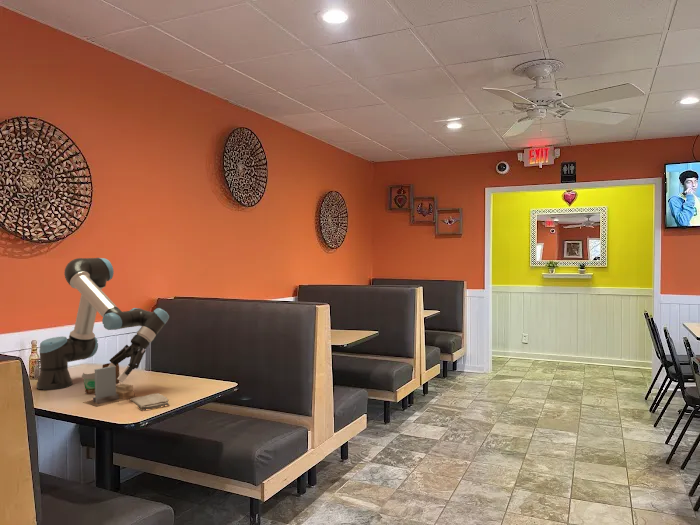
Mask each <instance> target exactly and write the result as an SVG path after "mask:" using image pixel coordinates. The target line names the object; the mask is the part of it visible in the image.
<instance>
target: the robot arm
mask: <svg viewBox="0 0 700 525" xmlns="http://www.w3.org/2000/svg"><path fill="white" fill-rule="evenodd" d="M63 273H64V279H65V281H66V282H67V283H68V284H67V285H69V286H70V287H71V288H72V289H76V290H77V291H78V293H79V294H80V298H79V304H78V309H77V313H76V319H75V323H74V329H73V330H71V331H70V332H69V336H68V338H67V336H55V337H50V338H46V339H44V340H42V341H41V342H40V344H39V350H38V352H39V364H40V365H39V367H40V369H39V370H40V372H39V375H38V378H37V382H36V389H37V388H38V389H37V390H39V389H43V390H42V391H48V390H57V389H58V390H59V389H65V388H68V387H70V386H72V385H73V379H72V378H71V374H70V371H69V367H68V366H69V365H68V363H70V362H75V361H80V360H81V361H82V360H87V359H89V358H92V357H95V355H96V353H97V351H98V348H99V343H98V339H97V337H96V335H95V333H94V328H95V327H94V326H95V322H96V316H97V313H99V315H100V316H101V317H102V320H101V321H102V324H103V328H104V329H105V330H108V331H113V330H114V331H116V330H117V331H118V330H122V329H127V328H128V329H129V328H135V327H140V328H139V329H138V330H137V332H136V334H135V335H133V337H132V338H131V339H130V343H131V344H130V345H128V344H126V345H124V347H123V348H122V349H120V350H119V351H118V352H117V353H116V354H115V355H114V356H112V357H111V358H110V359H109V363H110V365H109V366H108V367H111V366H115V367H116V366H117V364H118V363H119V364H120V363H121V362H123V361H124V360H125V359H127V358H130V360H129V363H128V365H126V367H125V368H124V369H123V371H122V372H121V373H120V374H119V377H118V378H117V379H118V380H119V382H121V384H124V381H125V380H126V379H127V378H128V376H129V375H130V374H131V372H132V371H133V370H135V369H138V368H139V366H140V365H141V362H142V359H143V357H144V354H145V353H146V351H147V348H148V347H149V345H150V344H151V343H152V342H153V341H154V340H155V338H156V336H158V334H159V333H160V331H161V330H162V329H163V327H165V325H166V324H167V323H168V321H169V319H170V315H169V313H168V312H167V311H165V309H162V308H161V307H157V308H155V309H154V310H153V311H150V310H146V309H143V308H139V307H138V308H137V307H133V308H130V309H129V310H126V311H122V310H121V309H120V308H119V307H118V306H117V305H116V304H115V303H114V302H113V301H112V299H110V298H109V296H107V294H106V293H105V292H104V291H103V290H102V289H104V288H105V287H106V286H107V282H109V281H111V280H112V279H113V277H114V267H113V265H112V263H111V261H110V260H109V259H107V258H106V257H105V258H104V257H85V258H84V257H83V258H82V257H79V258H78V257H77V258H74V259H72V260H70V261H69V262H68V263H67V264H66V266H65V268H64V272H63ZM67 386H68V387H67Z"/></svg>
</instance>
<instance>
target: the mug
mask: <svg viewBox="0 0 700 525" xmlns="http://www.w3.org/2000/svg"><path fill="white" fill-rule="evenodd" d="M110 363H111V362H108V363H103V364H102V367H101V368H105V367H108V366H109V365H110ZM115 368H116V384H118V383H120V381H119V380H118V379H117V378H118V377H119V376H120V363H118V364H117V366H116V367H115Z"/></svg>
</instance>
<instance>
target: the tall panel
mask: <svg viewBox="0 0 700 525" xmlns="http://www.w3.org/2000/svg"><path fill="white" fill-rule="evenodd" d="M94 373H95V394H94V397H95V402H96V403H97V399H99V398H103V397H107V396H112V395H116V385H117V383H116V368H115V366H111V367H105V368H102V367H100V368H95V369H94Z"/></svg>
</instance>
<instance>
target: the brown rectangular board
mask: <svg viewBox="0 0 700 525" xmlns="http://www.w3.org/2000/svg"><path fill="white" fill-rule="evenodd" d="M135 397H137V396H135V395H134V397H131V398H135ZM131 398H126V399H121V398H119V394H116V395H112V396H107V397H103V398H99V399H97V403H96V402H95V396H93V397H92V400H88V401H84V402H82V403H84V404H86V405H89V406H92V407H95V408H97V407H102V406H107V405H111V404H114V403H119V402H123V401H127V400H131Z"/></svg>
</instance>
